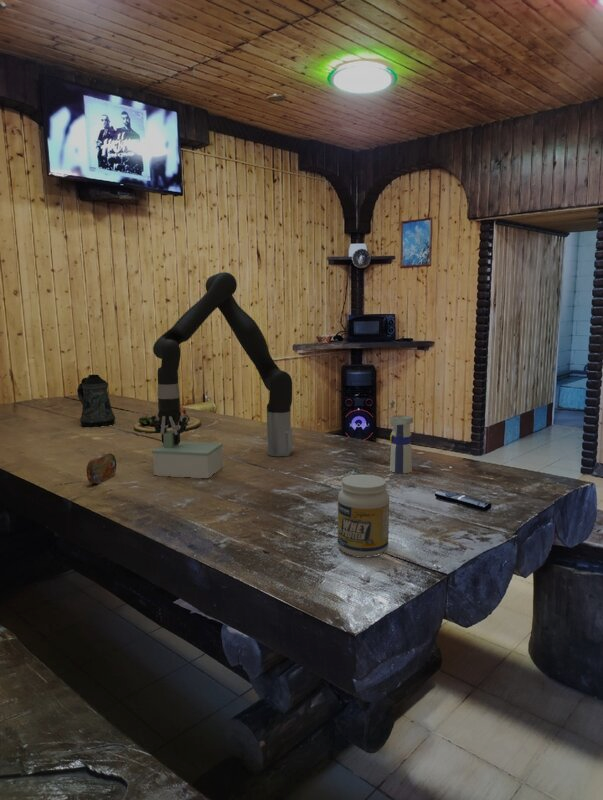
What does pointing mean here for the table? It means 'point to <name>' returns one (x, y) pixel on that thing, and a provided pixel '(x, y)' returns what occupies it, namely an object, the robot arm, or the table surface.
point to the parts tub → (187, 465)
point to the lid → (185, 447)
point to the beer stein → (95, 402)
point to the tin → (101, 468)
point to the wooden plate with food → (148, 427)
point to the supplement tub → (363, 515)
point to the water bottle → (400, 443)
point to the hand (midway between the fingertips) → (171, 444)
